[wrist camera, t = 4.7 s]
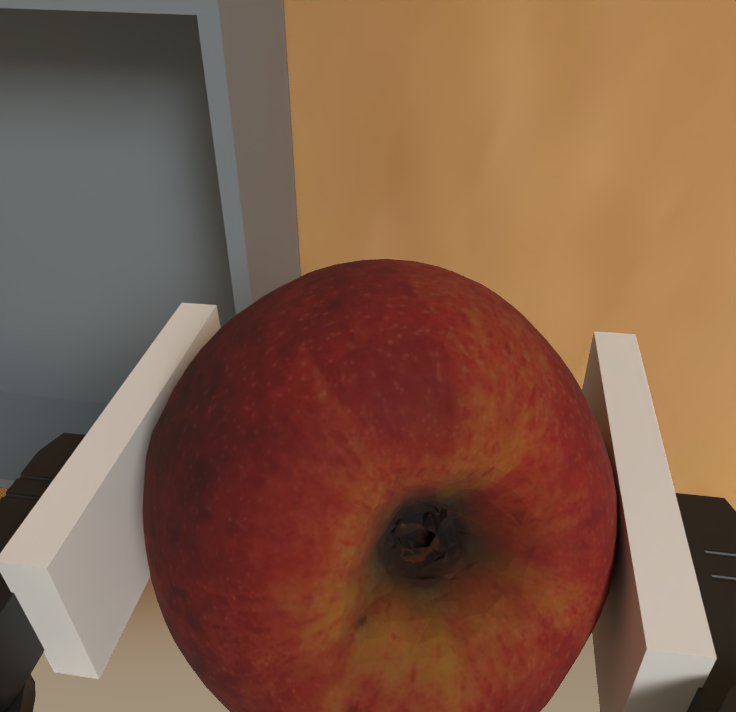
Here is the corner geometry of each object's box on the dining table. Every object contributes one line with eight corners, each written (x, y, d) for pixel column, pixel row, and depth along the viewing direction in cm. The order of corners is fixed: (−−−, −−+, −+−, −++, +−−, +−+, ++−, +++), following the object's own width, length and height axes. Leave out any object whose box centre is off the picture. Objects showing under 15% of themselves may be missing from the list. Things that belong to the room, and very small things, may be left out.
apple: (671, 393, 14) (798, 855, 8) (382, 525, 18) (308, 902, 11) (439, 99, 11) (338, 427, 5) (161, 329, 15) (-94, 677, 9)
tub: (-266, -54, 25) (-454, -31, 20) (280, -42, 22) (216, -11, 17) (-61, 386, 36) (-148, 467, 32) (310, 429, 34) (277, 525, 29)
